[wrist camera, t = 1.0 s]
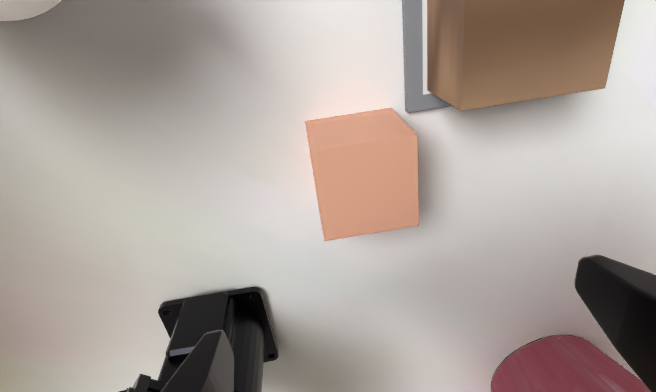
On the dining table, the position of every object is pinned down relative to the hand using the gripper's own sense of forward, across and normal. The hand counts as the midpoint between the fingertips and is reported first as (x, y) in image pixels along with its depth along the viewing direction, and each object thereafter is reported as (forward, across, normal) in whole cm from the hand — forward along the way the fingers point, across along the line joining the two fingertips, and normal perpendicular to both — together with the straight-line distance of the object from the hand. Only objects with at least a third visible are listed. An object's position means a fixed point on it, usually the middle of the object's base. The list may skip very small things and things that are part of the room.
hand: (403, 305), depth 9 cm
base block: (+11, -8, -5) cm, 15 cm away
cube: (+12, -1, +1) cm, 12 cm away
